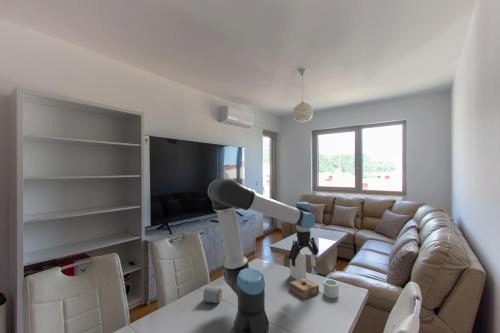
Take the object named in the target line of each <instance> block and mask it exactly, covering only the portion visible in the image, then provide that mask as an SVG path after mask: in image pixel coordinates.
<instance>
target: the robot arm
mask: <svg viewBox="0 0 500 333" xmlns="http://www.w3.org/2000/svg"><path fill="white" fill-rule="evenodd" d="M207 195H208V198H209V199H210V200H211V203H212V208H213V209H212V210H213V211H214V212H216V213H217V217H218V219H217V220H218V224H219V229H220V234H221V239H222V244H223V245H222V246H223V250H224V255H225V261H224V263H223V267H224V268H223V272H222V274H223V275H222V276H223V279H224V281H225V283H226V285H227V286H229V287H230V289H231V290H232V291H233V293H235V295H236V297H237V312H236V314H235V317H234V318H235V319H234V321H233V330H234V333H268V332H269V330H270V322H269V319H268V315H267V313H266V309H265V306H266V305H265V303H266V302H265V297H266V296H265V295H266V294H265V287H266V286H265V285H266V283H265V277H264V274H263V273H262V272H261V271H260V270H258V269H254V268H251V267H250V266H249V260H248V257H246V256H245V255H244V249H243V246H242V239H241V234H240V233H241V232H240V228H239V223H238V216H237V212H236V209H241V210H243V211H249V210H251V211H254V212H257V213H259V214H263V215H266V216H268V217H272V218H274V219H277V221H278V223H280V224H285V223H288V224H292V225H295V226H296V228H295V229H296V238H297V240H294V239H293V240H292V246H291V248H290V251H289V254H288V260H290V259H291V260H292V266H293V271H294V272H296V273H297V260H296V258H297V256H298V254H299V252H300V250H301V249H302V248H303V249H304V248H307V249H308V250H309V252H310V265H311V266H312V267H316V260H317V255H318V254H319V249H318V246H317V244H316V242H315V237H313V236H311V229H312V228H313V227H314V226H315V223H316V217H315V215H314V214H313V213H311V208H310V203H309V202H307V201H297V202H296V203H295V206H291V205H288V204H286V203H282V202H281V201H277V200H275V199H272V198H270V197H267V196H265V195H263V194H259V193H257V192H256V191H255V190H254V189H253V188H251V187H248V186H246V185H245V184H242V183H240V182H239V181H237V180H234V179H229V178H228V179H226V178H219V179H218V178H217V179H214V180H213V181H212V182H211V183H210V184H209V186H208V187H207Z"/></svg>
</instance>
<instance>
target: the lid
mask: <svg viewBox="0 0 500 333" xmlns="http://www.w3.org/2000/svg"><path fill="white" fill-rule="evenodd" d="M319 287H320V286H319V284H317V283H316V282H313V281H311V280H310V279H308V278H307V277H306V278H301V279H298V280H296V279H294V280H293V281H290V282H289V288H290V290H292V291H293V292H295V293H296V294H298V295H299V296H301V297H302V298H306V297H309V296H311V295H314V294H317V293H319V291H320V290H319V289H320V288H319Z"/></svg>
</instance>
